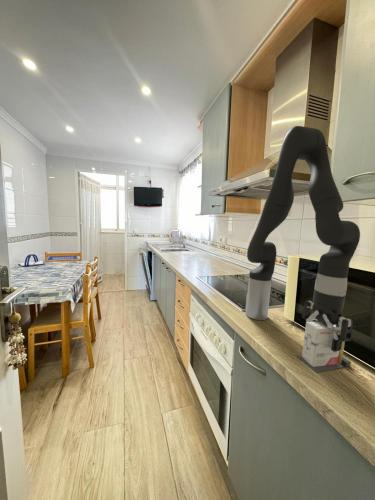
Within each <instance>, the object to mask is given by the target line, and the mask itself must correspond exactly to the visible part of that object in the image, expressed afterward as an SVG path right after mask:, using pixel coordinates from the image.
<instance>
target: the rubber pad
mask: <svg viewBox="0 0 375 500" xmlns="http://www.w3.org/2000/svg"><path fill="white" fill-rule="evenodd" d="M297 358H299V360H301V361H302V362H303V363H304V364H305V365H306V366H308V367H309V368H310V369H311V370H313V371H314V372H316V373H322V372H326V371H327V372H328V371H332V370H333V371H334V370H338V369H344V366H343V365H342V364H341V365H340V364H339V363H337V364H336V365H326V366H316V367H313V366H311V365H310V364H309V363H308V362H307V361H306V360H305V359H304V358H303V357H302V354H301V355H297Z"/></svg>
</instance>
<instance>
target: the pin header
mask: <svg viewBox="0 0 375 500" xmlns="http://www.w3.org/2000/svg"><path fill="white" fill-rule="evenodd" d="M345 343H346V341H344V342H343V341H342V347H341V350H340V351H339V355H338V361H337V363H339V364H340V365H342V366H343V367H345V368H350V367H351V364H352V362H351V361H350V360H349V359H347V358H346V357H345V356H344V349H345V345H346V344H345Z"/></svg>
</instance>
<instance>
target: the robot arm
mask: <svg viewBox="0 0 375 500" xmlns="http://www.w3.org/2000/svg"><path fill="white" fill-rule="evenodd" d="M324 135H325V134H324V133H323V131H322V130H320V129H318V128H315V127H308V126H303V125H302V126H301V125H296V126H292V127H291V128H290V129H289V130H288V131H287V133H286V135H285V137H284V139H283V141H282V143H281V148H280V150H279V151H280V152H279V155H278V159H277V164H276V168H275V172H274V175H273V176H274V177H273V179H272V183H271V185H270V188H269V191H268V193H267V195H266V196H267V197H266V199H265V202H264V205H263V209H262V212H261V214H260V218H259V220H258V224H257V225H256V228H255V231H254V233H253V235H252V237H251V240H250V242H249V244H248V247H247V252H246V258H247V260H248V262H250V263H254V264H259V265H258V266H257V267H255V268H254V269H253V268H252V269H251V270H250V271H249V274H248V286H247V287H248V288H247V292H246V299H245V310H244V312H245V315H246V317H248V318H250V319H253V320H257V321H265V320H267V319H268V318H269V317H268V315H269V308H270V307H269V306H270V296H271V285H272V279H273V276H274V272H275V265H276V260H277V248H276V247H277V246H276V244H275V243H273V242H271V241H266V240H267V238H269V235H270V234H272V233H273V231H274V230H276V229H277V228H278V227H280V225H281V224H283V222H284V221H285V220H286V219H287V217H288V215H289V213H290V211H291V208H292V207H293V203H294V200H295V199H294V198H295V194H294V186H293V173H294V170H295V167H296V164H297V161H298V160H304V161H305V163H307V165H308V167H309V171H310V179H309V183H308V196H309V199H310V203H311V206H312V208H313V210H314V214H315V215H314V219H315V220H314V222H315V232H316V236H317V237H318V239H319V240H320V242H321V243H322V244H324V245H325V246H329V249H328V251H327V252H325V253H323V254H322V255H321V256H320V258H319V262H318V269H317V274H316V276H315V277H316V278H315V283H314V290H313V296H312V300H306V301H305V300H304V303H303V309H302V313H301V314H302V315H301V318H302V319H304V320H305V321H306V322H315V321H319V322H322V323H323V324H324V325H326V326H328V328H329V330H330V331H331V332H332V335H333V337H334V338H333V340H332V346H331V350H332V351H333V352H337V351H340V350H341V347H342V341H343V342H344V341H345V342H350V341H352V339H353V327H354V320H353V319H352V318H346V317H344V316H343V315H342V311H343V309H344V307H345V302H346V301H345V300H346V296H347V288H348V275H349V271H350V263H351V260H352V258H353V257H354V254H355V252H356V250H357V249H358V248H357V247H358V245H359V243H360V239H361V232H360V227H359V226H358V225H357V223H355V222H353V221H351V220H341V217H340V212H341V211H342V210H343V209H344V202H343V199H342V197H341V194H340V192H339V190H338V187H337V185H336V182H335V180H334V179H335V178H334V176H333V173H332V169H331V163H330V159H329V153H328V149H327V147H328V146H327V142H326V138H325V136H324ZM306 322H305V323H306ZM333 325H336V327H333ZM336 331H337V332H336ZM337 333H338V334H337Z"/></svg>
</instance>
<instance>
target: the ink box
mask: <svg viewBox="0 0 375 500" xmlns="http://www.w3.org/2000/svg"><path fill="white" fill-rule="evenodd" d="M333 327H336V325H333ZM336 332H337V331H336ZM337 334H338V333H337ZM333 338H334V337H333V335H332V332H331V331H330V330H329V328H328V326H326V325H324V324H323V323H322V322H319V321H318V320H317V321H315V322H305V330H304V337H303V345H302V352H301V355H302V357H303V358H304V359H305V360H306V361H307V362H308V363H309V364H310V365H311V366H313V367H316V366H326V365H336V364H337V361H338V355H339V351H337V352H333V351H332V350H331V346H332V340H333Z"/></svg>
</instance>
